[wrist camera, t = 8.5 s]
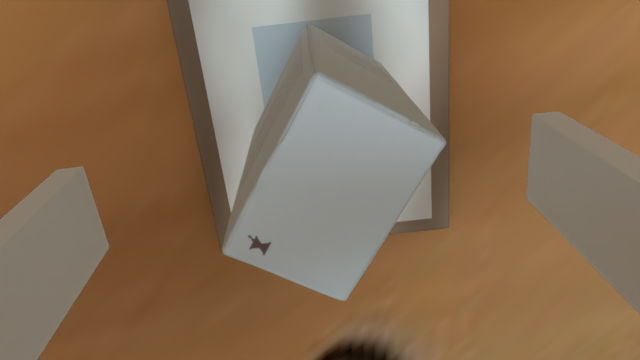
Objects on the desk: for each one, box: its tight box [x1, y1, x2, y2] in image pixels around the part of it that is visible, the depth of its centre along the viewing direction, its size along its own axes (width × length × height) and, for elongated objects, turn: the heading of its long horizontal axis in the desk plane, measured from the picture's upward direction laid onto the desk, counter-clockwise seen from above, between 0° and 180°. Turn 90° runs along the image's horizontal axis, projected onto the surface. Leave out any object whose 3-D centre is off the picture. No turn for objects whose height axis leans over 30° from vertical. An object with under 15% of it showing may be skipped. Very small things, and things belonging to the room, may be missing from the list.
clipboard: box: [167, 0, 449, 252], centre depth 25 cm, size 13×17×1 cm
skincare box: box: [222, 24, 446, 301], centre depth 19 cm, size 6×4×12 cm
